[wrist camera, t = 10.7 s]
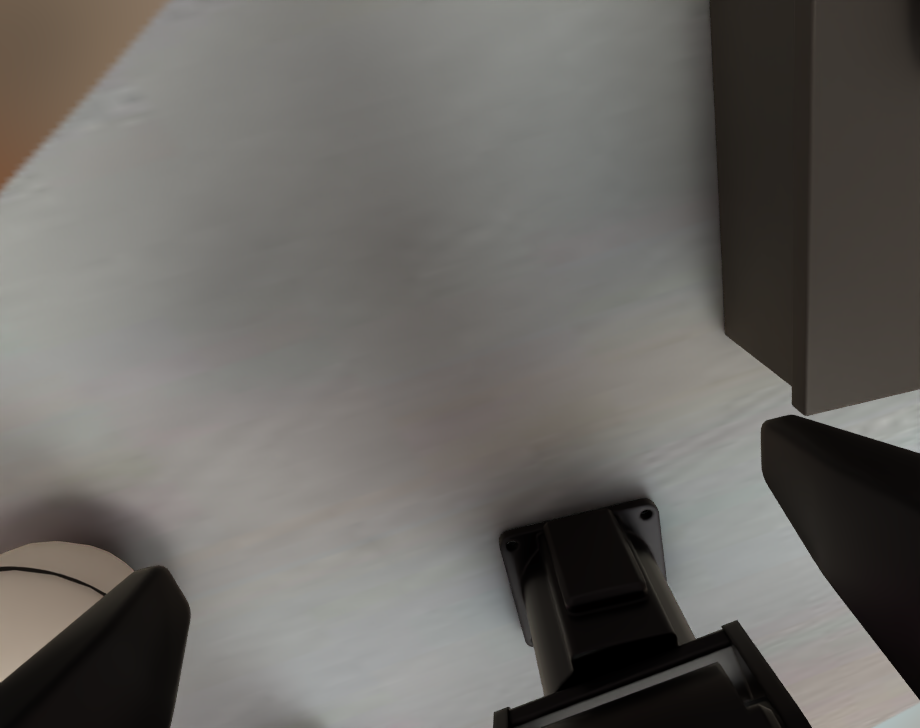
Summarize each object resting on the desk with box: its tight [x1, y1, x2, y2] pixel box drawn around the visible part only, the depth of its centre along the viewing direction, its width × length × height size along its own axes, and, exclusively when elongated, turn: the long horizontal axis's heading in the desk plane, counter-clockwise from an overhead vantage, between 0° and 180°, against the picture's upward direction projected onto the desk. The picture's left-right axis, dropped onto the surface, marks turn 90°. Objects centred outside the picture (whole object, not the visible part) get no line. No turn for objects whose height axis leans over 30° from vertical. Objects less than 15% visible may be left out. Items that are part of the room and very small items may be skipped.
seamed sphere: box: [0, 541, 134, 683], centre depth 20 cm, size 10×7×7 cm
